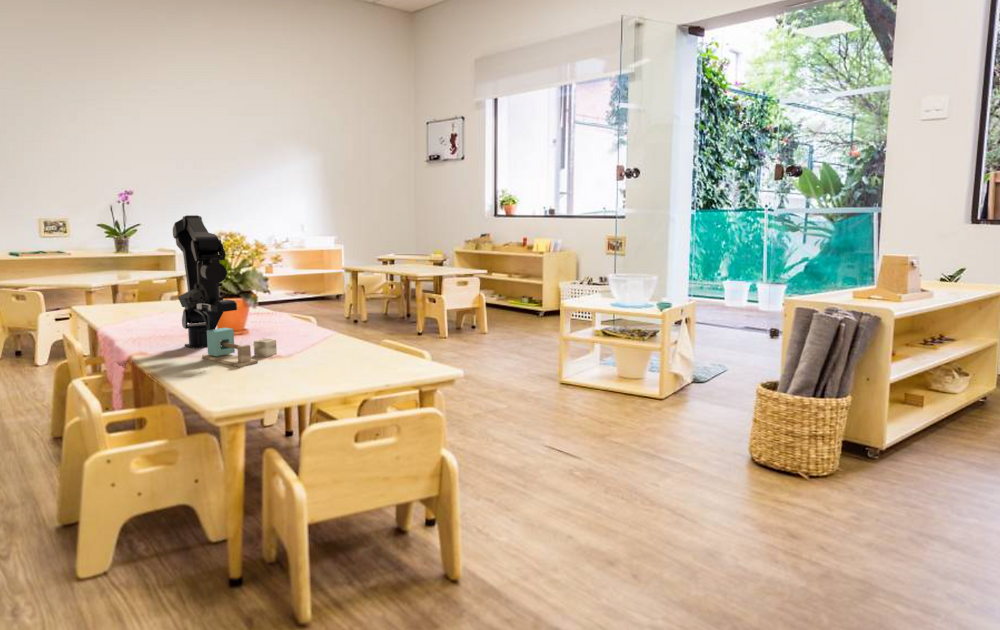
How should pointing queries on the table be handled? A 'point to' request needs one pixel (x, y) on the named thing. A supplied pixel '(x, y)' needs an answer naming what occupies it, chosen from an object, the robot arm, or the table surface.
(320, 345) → the table surface
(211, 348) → the bead
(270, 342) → the maple cube
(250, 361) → the rail
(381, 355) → the table surface
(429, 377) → the table surface
